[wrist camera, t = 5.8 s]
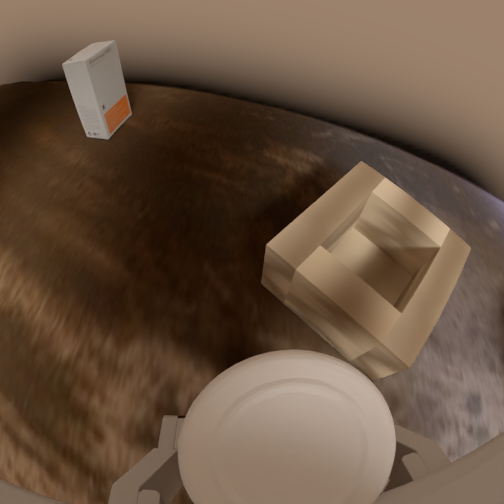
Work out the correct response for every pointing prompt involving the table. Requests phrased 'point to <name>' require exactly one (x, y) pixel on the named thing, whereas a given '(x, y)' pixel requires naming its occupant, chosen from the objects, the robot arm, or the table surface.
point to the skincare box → (98, 89)
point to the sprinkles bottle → (287, 434)
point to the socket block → (366, 271)
